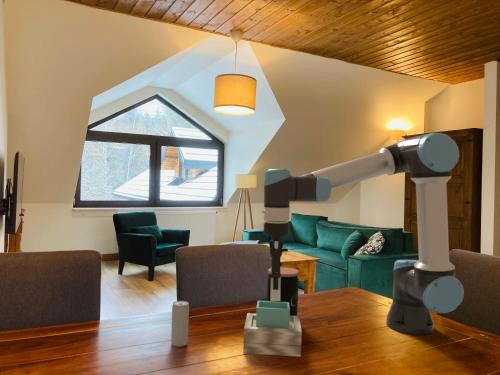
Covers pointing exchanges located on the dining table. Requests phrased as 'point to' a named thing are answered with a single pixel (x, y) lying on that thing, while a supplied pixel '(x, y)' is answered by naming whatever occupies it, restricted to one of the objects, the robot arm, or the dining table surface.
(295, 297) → the coffee jar
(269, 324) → the teal crate
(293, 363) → the dining table surface
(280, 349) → the beige crate
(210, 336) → the dining table surface
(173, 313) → the beverage can
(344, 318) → the dining table surface
